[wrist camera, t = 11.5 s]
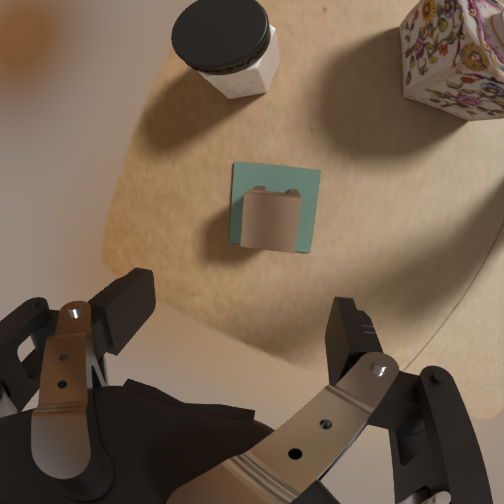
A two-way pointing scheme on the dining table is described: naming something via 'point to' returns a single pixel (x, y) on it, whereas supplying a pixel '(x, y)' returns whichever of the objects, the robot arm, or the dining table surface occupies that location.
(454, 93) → the decorative jar
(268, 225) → the pronged tan cube
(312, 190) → the mat
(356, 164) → the dining table surface
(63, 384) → the robot arm
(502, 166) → the dining table surface
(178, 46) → the jar
